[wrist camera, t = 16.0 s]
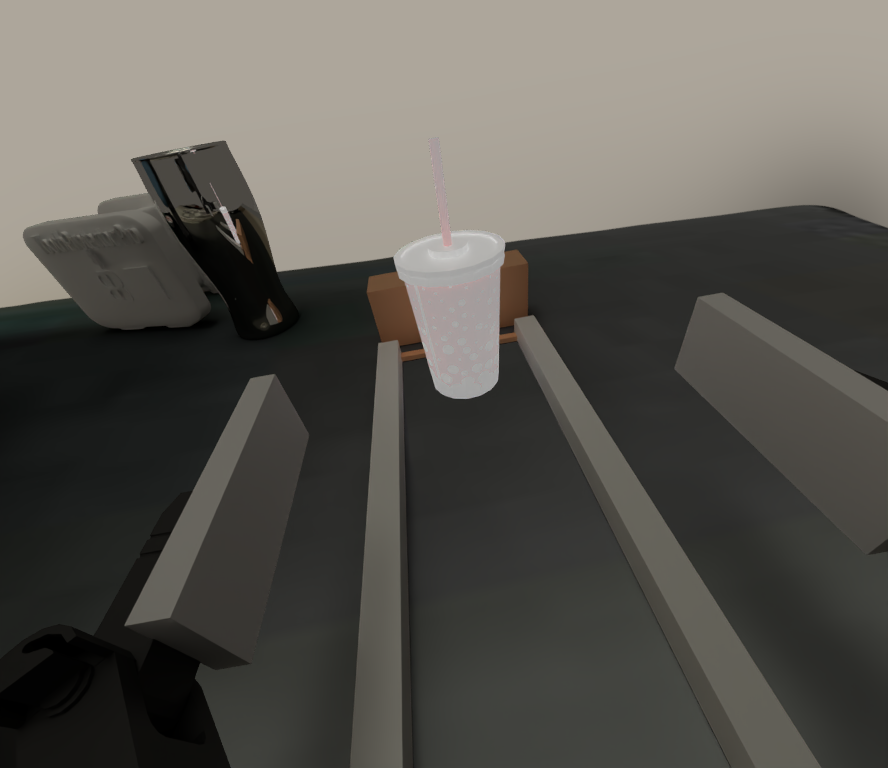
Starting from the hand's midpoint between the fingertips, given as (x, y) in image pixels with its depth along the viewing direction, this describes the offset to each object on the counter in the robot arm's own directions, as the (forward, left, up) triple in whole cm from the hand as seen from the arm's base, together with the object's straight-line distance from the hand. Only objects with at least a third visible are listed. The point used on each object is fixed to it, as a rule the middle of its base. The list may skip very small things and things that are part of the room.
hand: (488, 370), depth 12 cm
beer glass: (-3, +30, -9) cm, 32 cm away
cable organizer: (-10, +44, -9) cm, 46 cm away
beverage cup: (+5, +9, -9) cm, 14 cm away
